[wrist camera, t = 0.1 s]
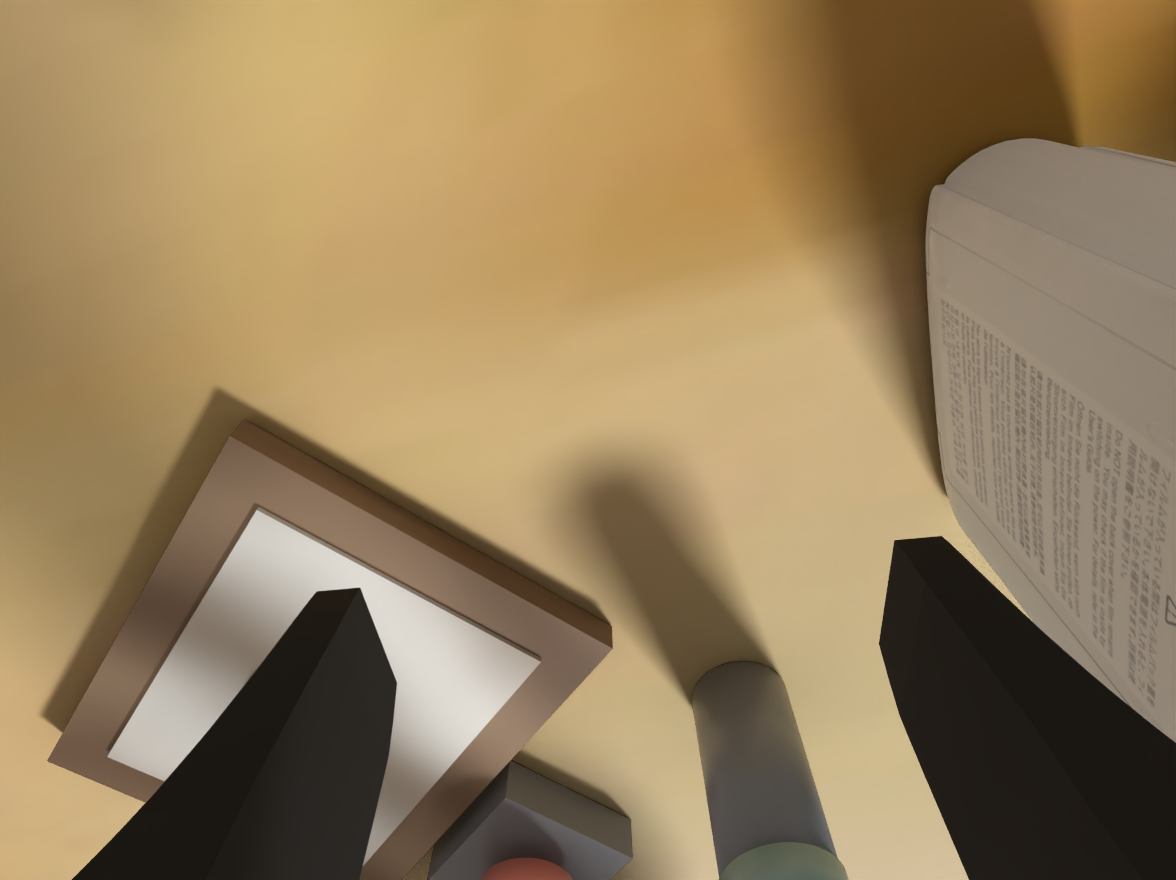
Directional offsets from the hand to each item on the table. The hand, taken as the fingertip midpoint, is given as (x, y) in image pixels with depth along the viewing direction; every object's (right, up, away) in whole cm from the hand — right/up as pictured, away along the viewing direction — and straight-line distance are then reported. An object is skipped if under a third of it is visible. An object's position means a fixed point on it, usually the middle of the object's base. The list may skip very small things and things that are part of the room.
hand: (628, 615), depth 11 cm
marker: (+4, -6, +15) cm, 16 cm away
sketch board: (-9, -5, +14) cm, 18 cm away
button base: (-3, -11, +17) cm, 21 cm away
